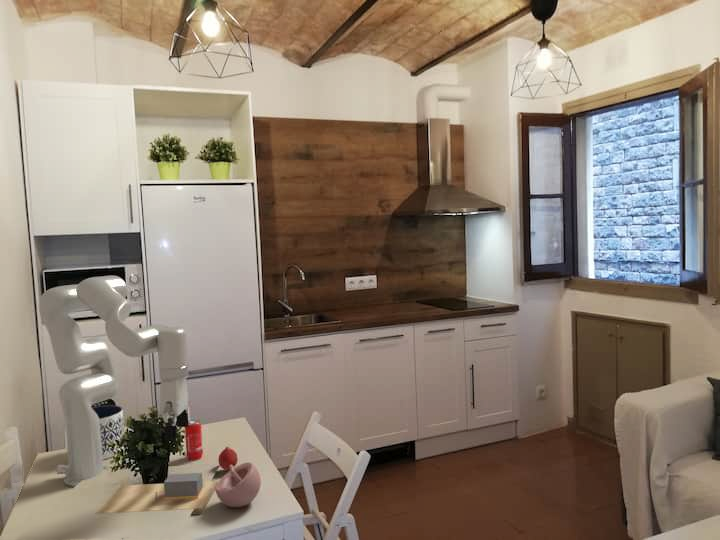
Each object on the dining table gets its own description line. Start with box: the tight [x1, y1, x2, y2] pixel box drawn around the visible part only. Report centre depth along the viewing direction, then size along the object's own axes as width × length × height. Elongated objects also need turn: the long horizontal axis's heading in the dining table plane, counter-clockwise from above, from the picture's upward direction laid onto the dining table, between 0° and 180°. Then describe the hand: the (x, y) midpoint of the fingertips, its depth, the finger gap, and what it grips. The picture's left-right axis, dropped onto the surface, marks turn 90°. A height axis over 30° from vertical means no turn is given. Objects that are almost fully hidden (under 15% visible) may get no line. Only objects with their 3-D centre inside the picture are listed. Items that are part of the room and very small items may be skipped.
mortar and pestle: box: [215, 461, 261, 508], centre depth 149 cm, size 12×12×12 cm
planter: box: [92, 404, 125, 461], centre depth 190 cm, size 16×16×14 cm
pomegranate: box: [217, 446, 239, 472], centre depth 171 cm, size 6×6×8 cm
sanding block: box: [163, 472, 204, 500], centre depth 153 cm, size 9×5×5 cm, turn 90°
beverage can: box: [184, 419, 204, 461], centre depth 182 cm, size 5×5×12 cm
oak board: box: [95, 480, 218, 515], centre depth 153 cm, size 28×16×2 cm, turn 90°
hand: (177, 433), depth 153 cm, fingers open, 9 cm apart
